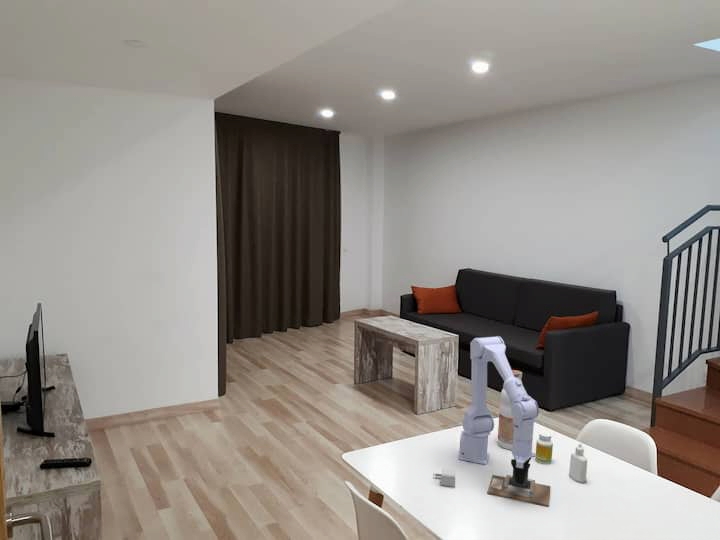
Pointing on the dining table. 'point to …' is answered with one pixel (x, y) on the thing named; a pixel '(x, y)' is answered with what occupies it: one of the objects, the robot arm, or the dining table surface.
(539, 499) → the socket dock
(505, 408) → the fruit juice
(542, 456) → the supplement bottle
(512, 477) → the plug
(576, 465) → the eye dropper bottle
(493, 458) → the dining table surface
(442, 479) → the usb wall charger
